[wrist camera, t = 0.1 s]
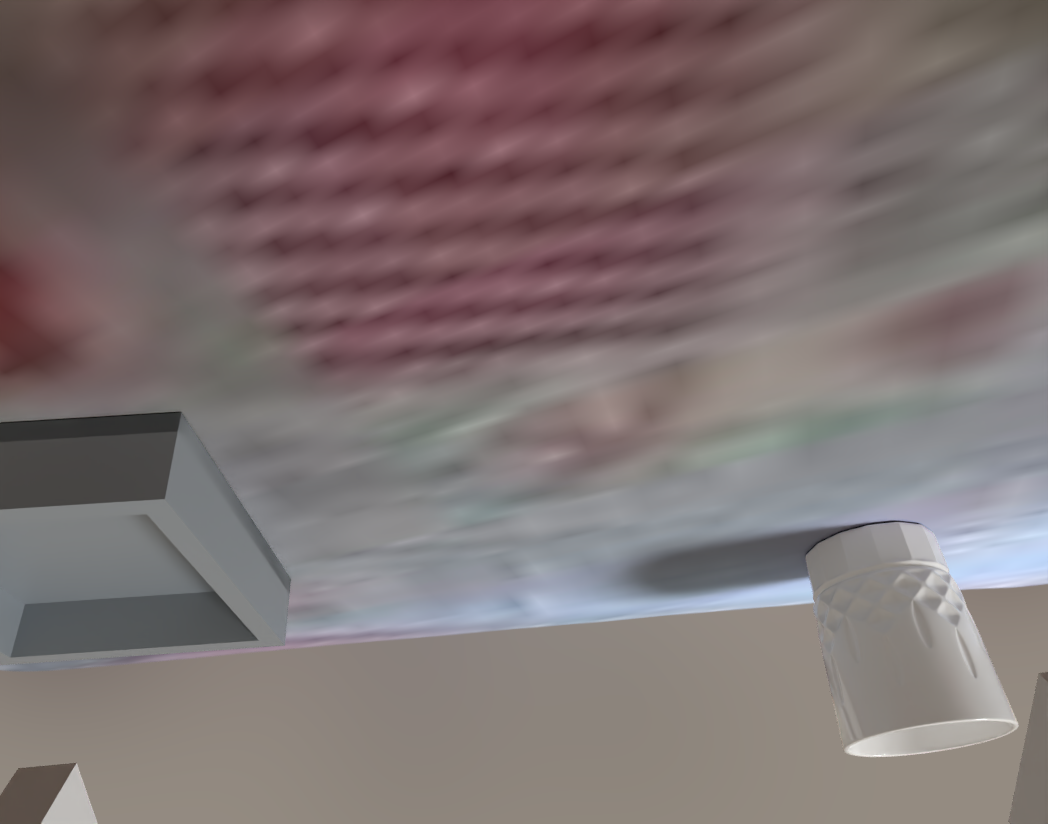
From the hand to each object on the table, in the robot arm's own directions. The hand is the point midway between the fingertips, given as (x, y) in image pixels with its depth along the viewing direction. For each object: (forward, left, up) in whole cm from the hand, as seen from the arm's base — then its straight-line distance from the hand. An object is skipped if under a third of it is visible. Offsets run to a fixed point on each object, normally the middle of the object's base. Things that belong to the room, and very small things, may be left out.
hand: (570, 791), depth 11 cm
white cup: (+29, +19, -15) cm, 38 cm away
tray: (+20, -19, -15) cm, 32 cm away
